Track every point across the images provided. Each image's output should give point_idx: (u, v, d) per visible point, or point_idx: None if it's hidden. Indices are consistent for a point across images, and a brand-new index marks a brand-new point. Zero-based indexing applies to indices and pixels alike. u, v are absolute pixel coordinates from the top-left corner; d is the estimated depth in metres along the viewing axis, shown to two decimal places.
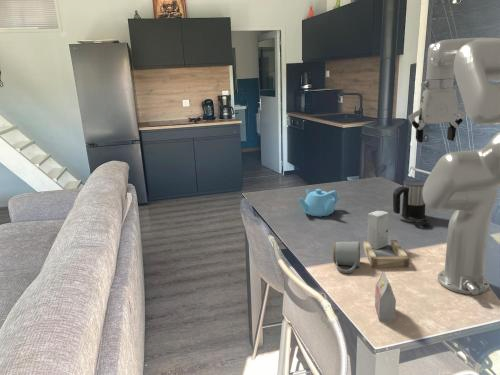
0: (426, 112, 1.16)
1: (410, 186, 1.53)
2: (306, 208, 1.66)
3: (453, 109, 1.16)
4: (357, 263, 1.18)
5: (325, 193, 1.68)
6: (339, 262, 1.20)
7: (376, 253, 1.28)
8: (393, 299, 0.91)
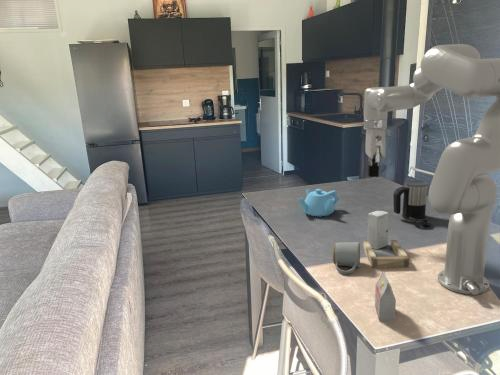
0: None
1: (410, 186, 1.52)
2: (306, 208, 1.66)
3: None
4: (357, 264, 1.17)
5: (325, 193, 1.68)
6: (339, 263, 1.19)
7: (376, 253, 1.28)
8: (393, 299, 0.91)
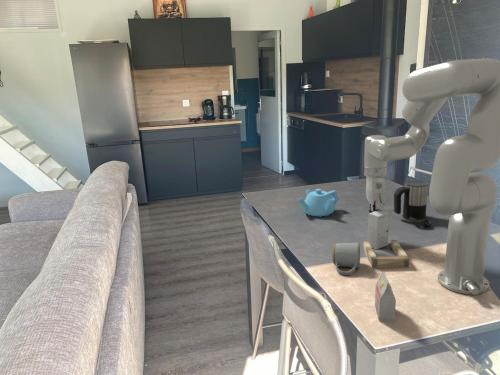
0: (385, 195, 1.31)
1: (411, 186, 1.52)
2: (306, 208, 1.66)
3: None
4: (357, 265, 1.17)
5: (325, 193, 1.68)
6: (339, 263, 1.19)
7: (376, 253, 1.28)
8: (393, 299, 0.91)
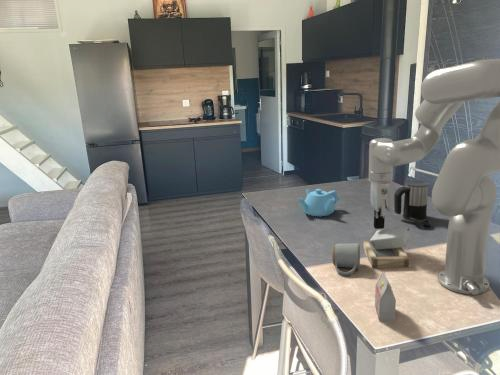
0: None
1: (411, 186, 1.52)
2: (306, 208, 1.66)
3: None
4: (357, 265, 1.16)
5: (325, 193, 1.68)
6: (339, 264, 1.19)
7: (376, 253, 1.28)
8: (393, 299, 0.91)
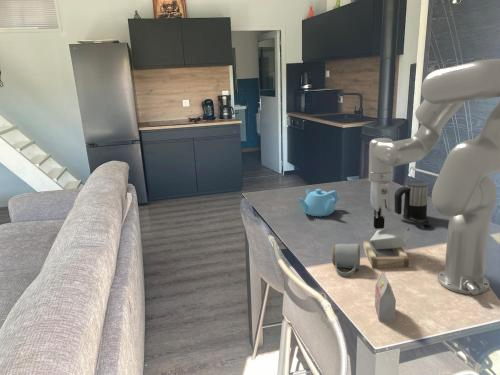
0: None
1: (412, 187, 1.52)
2: (306, 208, 1.66)
3: None
4: (357, 266, 1.16)
5: (325, 193, 1.68)
6: (338, 264, 1.18)
7: (376, 253, 1.28)
8: (393, 299, 0.91)
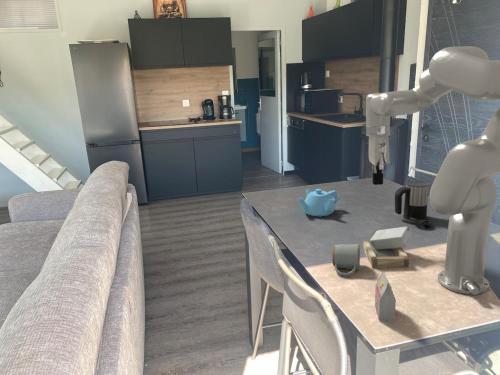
0: None
1: (412, 187, 1.52)
2: (306, 208, 1.66)
3: None
4: (357, 266, 1.16)
5: (325, 193, 1.68)
6: (338, 265, 1.18)
7: (376, 253, 1.28)
8: (393, 299, 0.91)
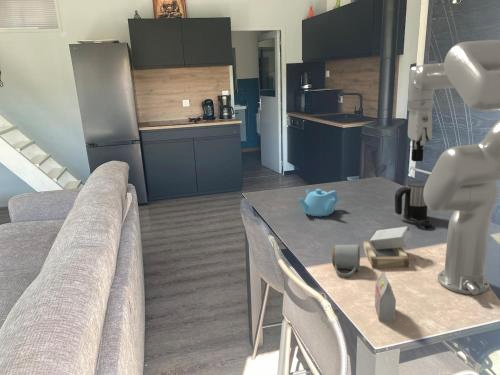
0: None
1: (412, 187, 1.52)
2: (306, 208, 1.66)
3: None
4: (357, 267, 1.15)
5: (325, 193, 1.68)
6: (338, 265, 1.18)
7: (376, 253, 1.28)
8: (393, 299, 0.91)
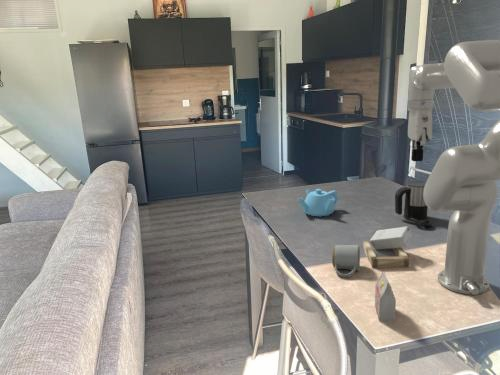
0: None
1: (412, 187, 1.51)
2: (306, 208, 1.66)
3: None
4: (357, 267, 1.15)
5: (325, 193, 1.68)
6: (338, 266, 1.17)
7: (376, 253, 1.28)
8: (393, 299, 0.91)
